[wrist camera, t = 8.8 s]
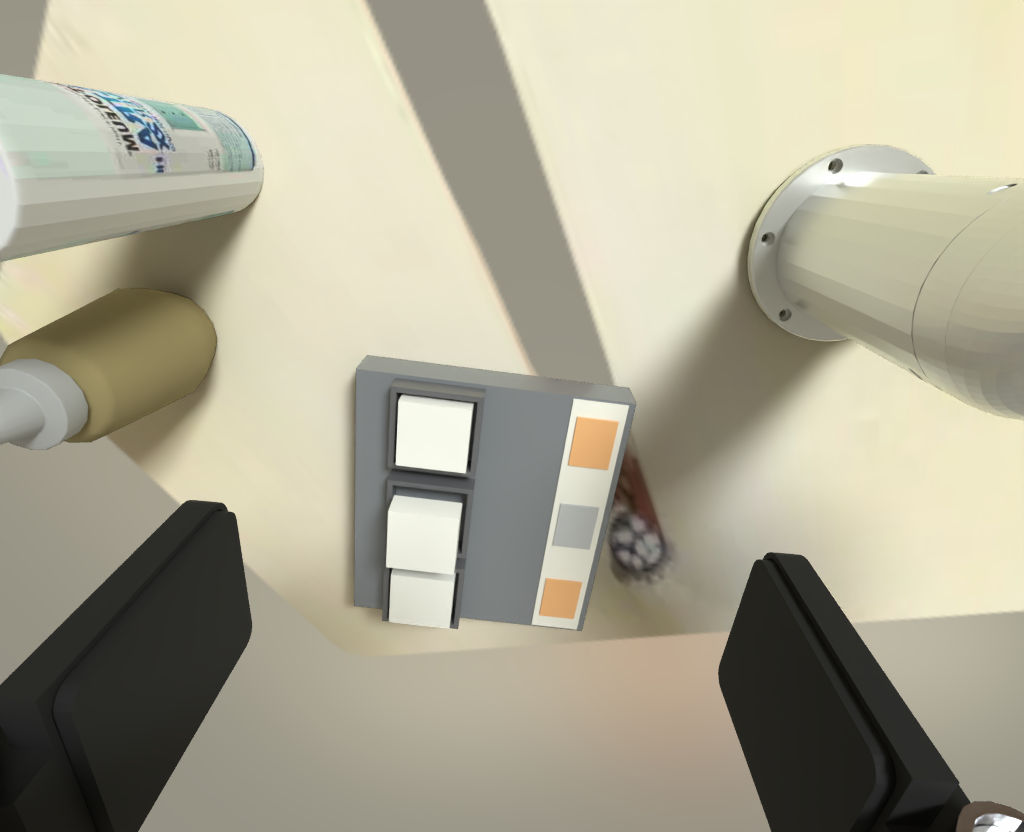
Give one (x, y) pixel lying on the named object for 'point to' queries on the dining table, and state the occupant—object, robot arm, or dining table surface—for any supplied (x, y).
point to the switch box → (497, 487)
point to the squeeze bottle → (103, 367)
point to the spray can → (112, 165)
